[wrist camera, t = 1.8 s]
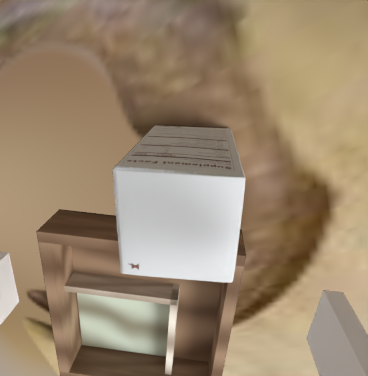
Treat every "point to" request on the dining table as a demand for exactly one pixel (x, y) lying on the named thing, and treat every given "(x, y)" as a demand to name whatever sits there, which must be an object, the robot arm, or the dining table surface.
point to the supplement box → (180, 204)
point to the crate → (129, 307)
